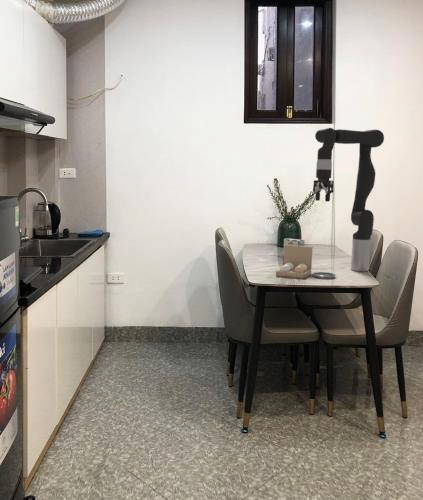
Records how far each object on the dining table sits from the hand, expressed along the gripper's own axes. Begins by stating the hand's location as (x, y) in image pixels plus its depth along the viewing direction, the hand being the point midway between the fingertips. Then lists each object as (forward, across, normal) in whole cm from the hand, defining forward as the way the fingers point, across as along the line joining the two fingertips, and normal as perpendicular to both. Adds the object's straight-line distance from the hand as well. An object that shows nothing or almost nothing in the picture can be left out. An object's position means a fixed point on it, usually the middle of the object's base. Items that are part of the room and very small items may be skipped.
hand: (322, 201), depth 244 cm
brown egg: (+35, +2, -14) cm, 38 cm away
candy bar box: (+38, -18, -5) cm, 42 cm away
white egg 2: (+35, -8, -14) cm, 38 cm away
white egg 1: (+35, -3, -18) cm, 40 cm away
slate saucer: (+38, +6, -1) cm, 39 cm away
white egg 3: (+35, -3, -8) cm, 36 cm away
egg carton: (+38, -3, -14) cm, 41 cm away
